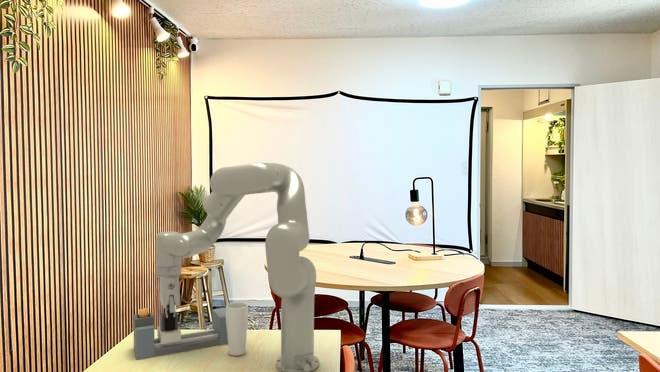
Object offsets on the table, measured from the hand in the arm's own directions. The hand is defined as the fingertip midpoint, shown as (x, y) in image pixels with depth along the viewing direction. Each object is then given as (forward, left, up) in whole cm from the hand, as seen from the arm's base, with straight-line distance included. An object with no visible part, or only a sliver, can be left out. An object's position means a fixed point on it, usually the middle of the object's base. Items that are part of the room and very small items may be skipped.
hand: (169, 327), depth 144 cm
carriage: (0, 0, -4) cm, 4 cm away
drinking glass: (-14, -18, -7) cm, 24 cm away
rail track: (0, -5, -7) cm, 8 cm away
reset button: (0, +7, +4) cm, 8 cm away
